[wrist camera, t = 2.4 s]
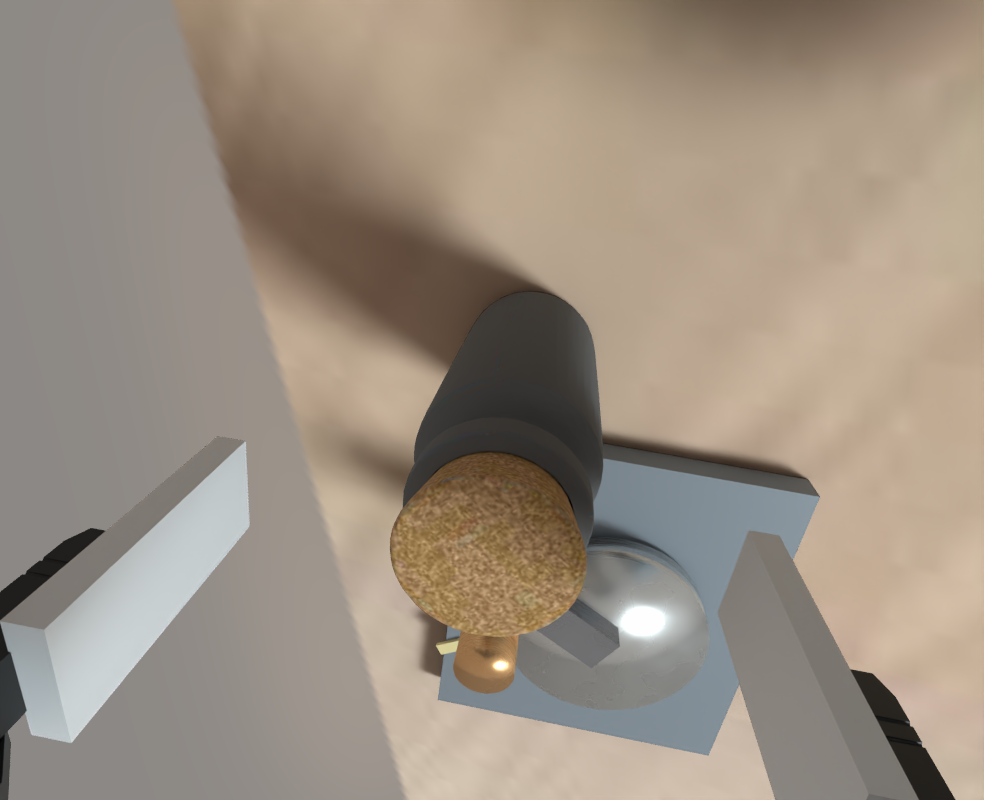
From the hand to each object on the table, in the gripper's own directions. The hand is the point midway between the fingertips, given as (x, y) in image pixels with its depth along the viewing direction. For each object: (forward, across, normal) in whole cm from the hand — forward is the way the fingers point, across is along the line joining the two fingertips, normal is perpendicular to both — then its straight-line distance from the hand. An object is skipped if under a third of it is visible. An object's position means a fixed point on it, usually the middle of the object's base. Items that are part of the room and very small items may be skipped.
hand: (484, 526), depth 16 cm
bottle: (+14, 0, 0) cm, 14 cm away
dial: (+12, +5, -13) cm, 18 cm away
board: (+13, +6, -13) cm, 20 cm away
